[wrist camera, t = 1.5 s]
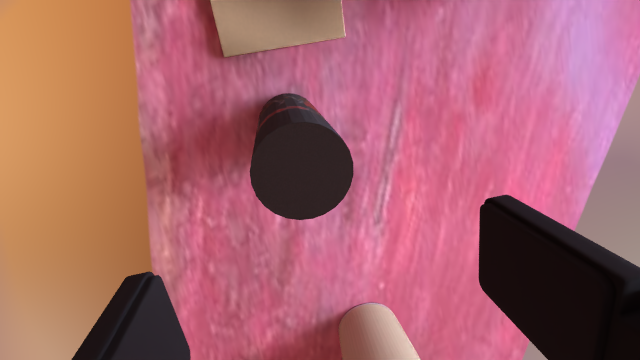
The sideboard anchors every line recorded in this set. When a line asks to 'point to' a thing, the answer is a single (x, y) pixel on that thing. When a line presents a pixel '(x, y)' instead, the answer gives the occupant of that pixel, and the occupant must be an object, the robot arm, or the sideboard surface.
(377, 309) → the coffee cup
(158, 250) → the sideboard surface
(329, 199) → the deodorant
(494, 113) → the sideboard surface
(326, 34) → the coaster
